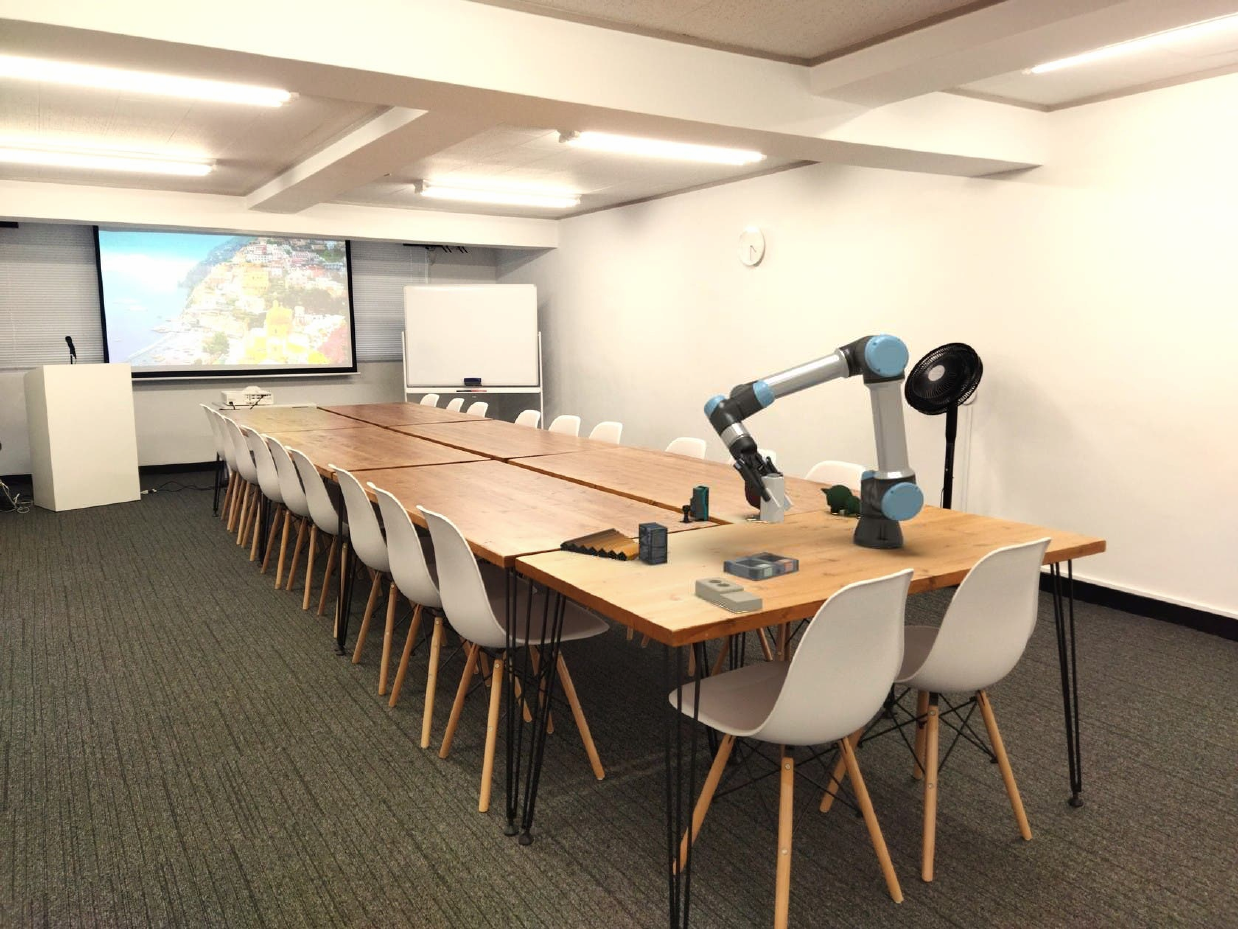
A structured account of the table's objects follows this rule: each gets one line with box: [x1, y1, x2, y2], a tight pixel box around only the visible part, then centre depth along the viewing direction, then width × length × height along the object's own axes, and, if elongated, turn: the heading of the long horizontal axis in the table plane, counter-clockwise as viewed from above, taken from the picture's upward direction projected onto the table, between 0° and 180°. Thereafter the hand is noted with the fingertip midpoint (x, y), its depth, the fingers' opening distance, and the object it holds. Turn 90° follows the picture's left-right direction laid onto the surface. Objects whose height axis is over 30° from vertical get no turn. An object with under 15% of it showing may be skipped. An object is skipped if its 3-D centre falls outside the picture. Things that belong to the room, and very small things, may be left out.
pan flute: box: [559, 527, 639, 562], centre depth 261 cm, size 25×3×25 cm
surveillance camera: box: [678, 485, 710, 525], centre depth 302 cm, size 6×12×10 cm
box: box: [638, 521, 669, 566], centre depth 244 cm, size 8×6×11 cm
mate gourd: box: [744, 470, 784, 521], centre depth 303 cm, size 16×14×20 cm
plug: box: [759, 473, 786, 524], centre depth 234 cm, size 4×4×13 cm
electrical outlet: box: [694, 576, 763, 613], centre depth 205 cm, size 7×4×18 cm
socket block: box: [723, 551, 800, 582], centre depth 233 cm, size 17×12×3 cm
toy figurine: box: [820, 469, 875, 518], centre depth 311 cm, size 9×19×25 cm
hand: (783, 508), depth 231 cm, fingers closed on plug, 4 cm apart
